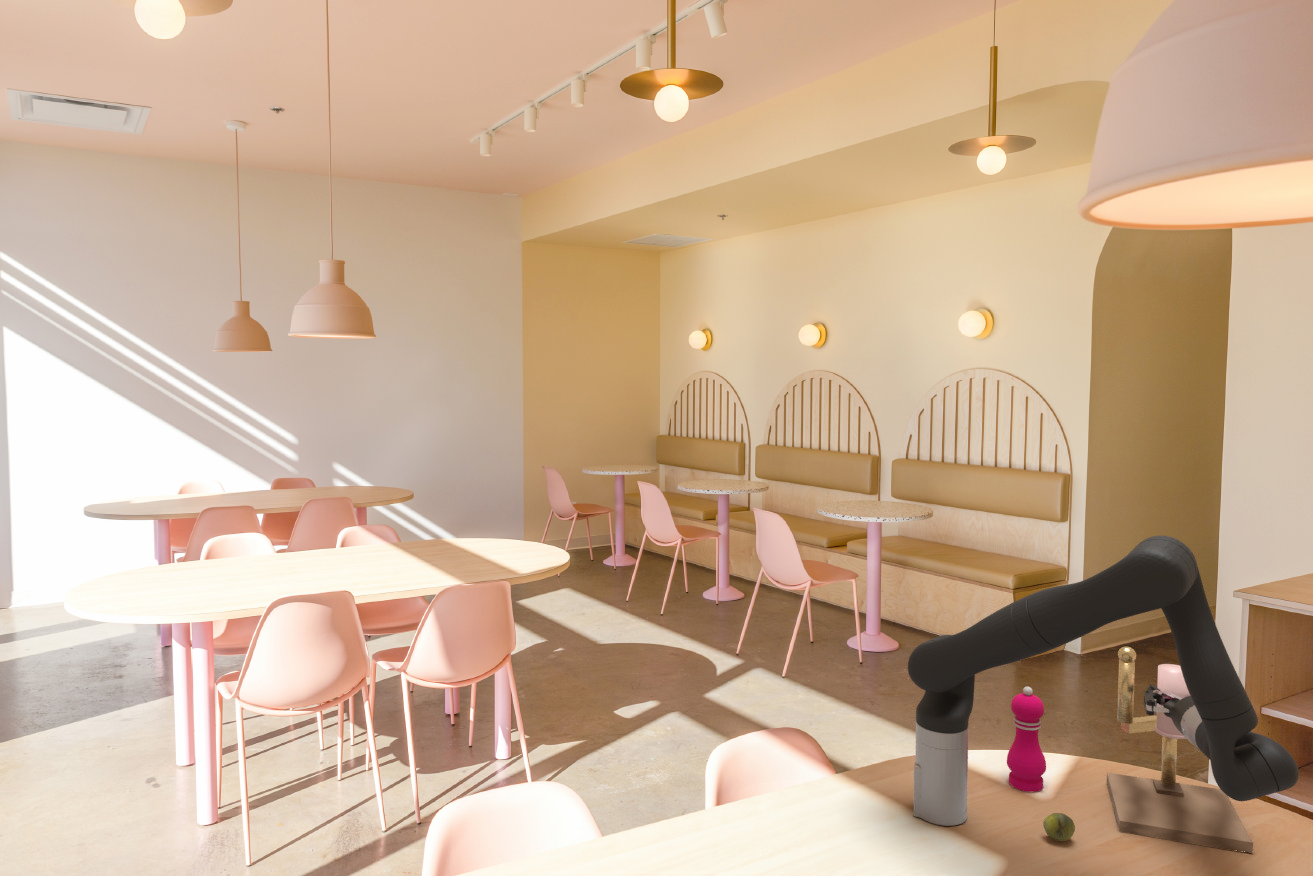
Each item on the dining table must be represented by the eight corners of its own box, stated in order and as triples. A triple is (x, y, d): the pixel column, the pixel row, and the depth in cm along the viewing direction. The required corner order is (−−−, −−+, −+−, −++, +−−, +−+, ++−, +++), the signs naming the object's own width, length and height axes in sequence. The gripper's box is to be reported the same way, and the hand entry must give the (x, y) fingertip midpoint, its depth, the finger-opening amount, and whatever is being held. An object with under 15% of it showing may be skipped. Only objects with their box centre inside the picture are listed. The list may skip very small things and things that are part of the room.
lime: (1039, 836, 150) (1039, 809, 150) (1060, 831, 152) (1060, 804, 151) (1059, 849, 146) (1059, 821, 146) (1080, 844, 148) (1081, 816, 147)
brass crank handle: (1179, 776, 165) (1184, 639, 163) (1192, 783, 162) (1197, 643, 160) (1110, 785, 161) (1114, 645, 159) (1122, 792, 158) (1126, 650, 157)
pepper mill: (1052, 793, 165) (1054, 693, 164) (1014, 793, 166) (1016, 693, 164) (1036, 776, 173) (1038, 680, 171) (1000, 776, 173) (1002, 680, 171)
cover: (1157, 736, 154) (1159, 671, 153) (1152, 724, 159) (1153, 662, 159) (1194, 741, 152) (1196, 675, 151) (1187, 729, 157) (1189, 665, 156)
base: (1119, 831, 151) (1119, 816, 151) (1106, 782, 170) (1106, 768, 170) (1252, 854, 144) (1253, 838, 144) (1224, 799, 162) (1224, 785, 162)
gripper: (1256, 707, 139) (1211, 672, 156) (1159, 701, 142) (1126, 668, 159) (1254, 751, 140) (1210, 712, 156) (1158, 744, 143) (1125, 707, 160)
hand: (1168, 690), depth 158 cm, fingers closed on cover, 5 cm apart
